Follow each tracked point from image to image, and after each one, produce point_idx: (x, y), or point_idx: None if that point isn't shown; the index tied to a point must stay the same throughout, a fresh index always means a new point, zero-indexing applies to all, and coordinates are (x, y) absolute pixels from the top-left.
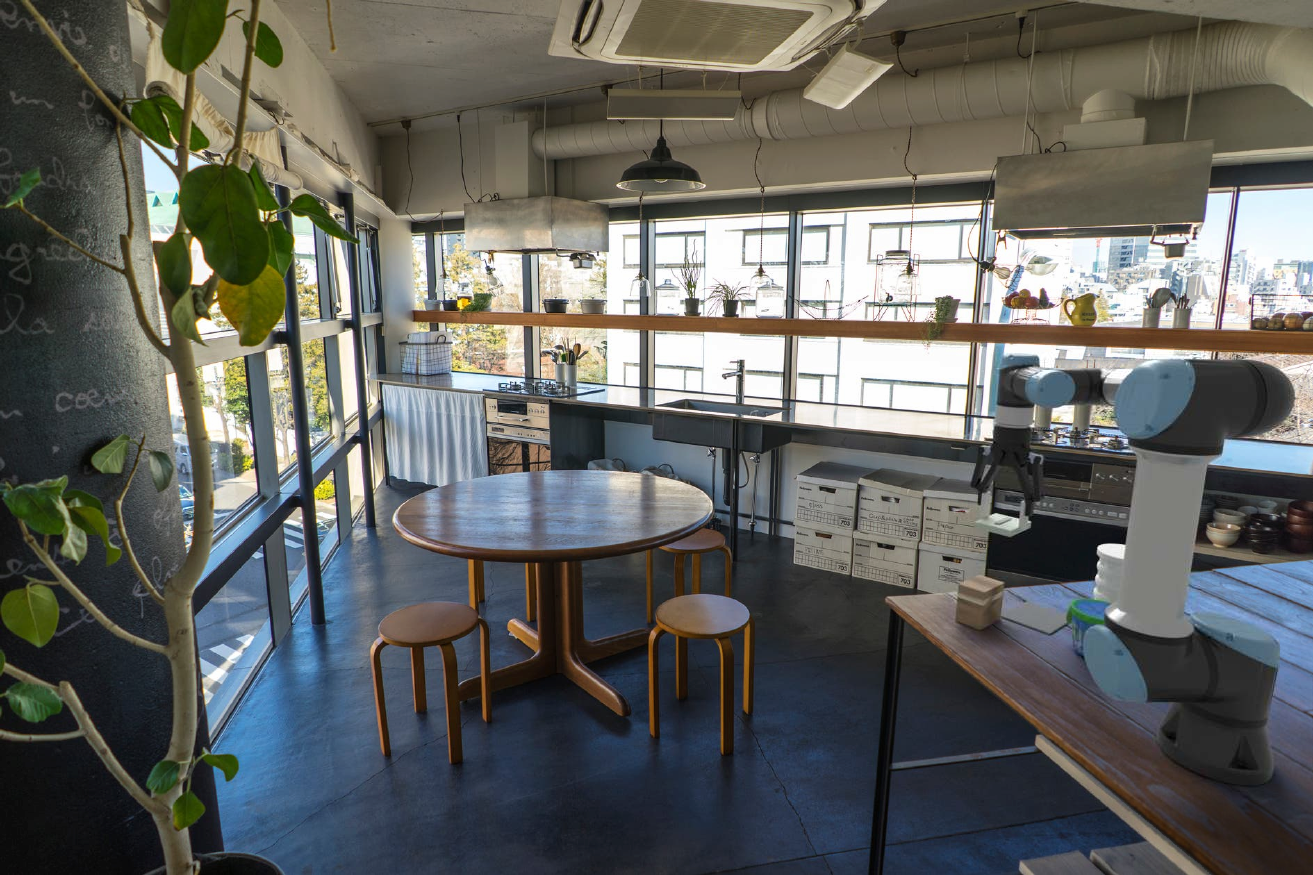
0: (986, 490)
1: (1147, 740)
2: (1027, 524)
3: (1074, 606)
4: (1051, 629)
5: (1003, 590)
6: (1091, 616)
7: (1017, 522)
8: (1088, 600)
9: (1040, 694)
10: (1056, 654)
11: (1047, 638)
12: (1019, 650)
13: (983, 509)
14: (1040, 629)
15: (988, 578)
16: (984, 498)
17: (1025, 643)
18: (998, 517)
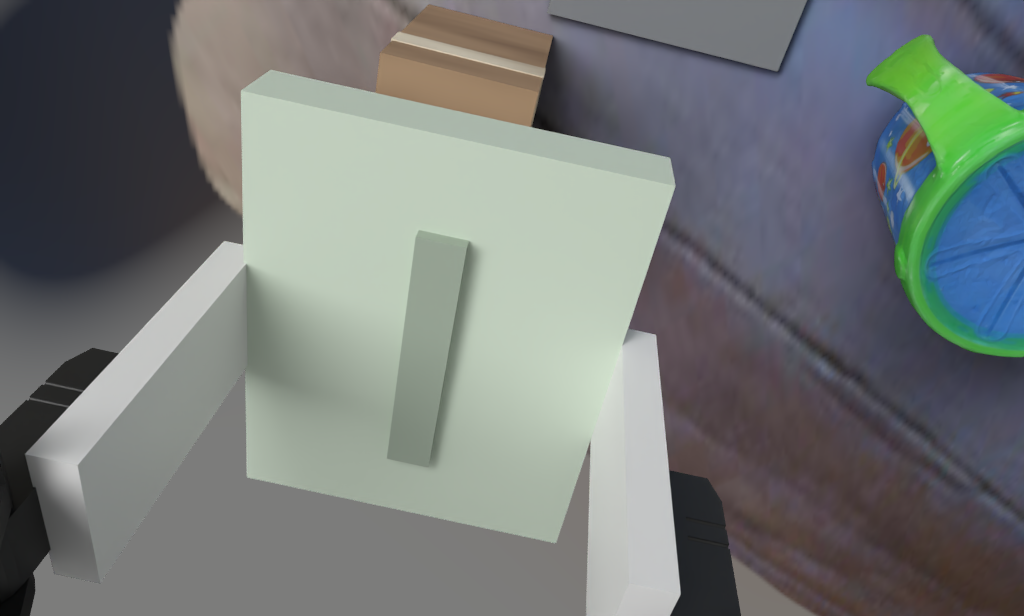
0: (24, 507)
1: (1010, 554)
2: (657, 365)
3: (923, 278)
4: (784, 22)
5: (542, 79)
6: (992, 352)
7: (549, 305)
8: (1020, 147)
9: (758, 492)
10: (803, 238)
11: (767, 113)
12: (674, 282)
13: (202, 428)
14: (735, 57)
15: (445, 83)
16: (132, 528)
17: (687, 215)
18: (336, 241)
